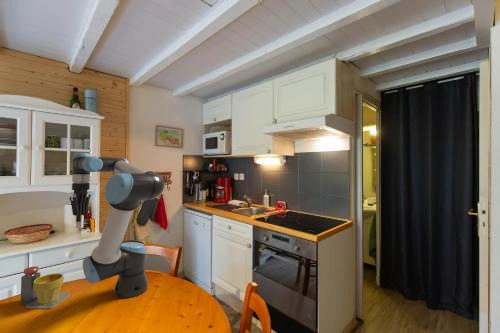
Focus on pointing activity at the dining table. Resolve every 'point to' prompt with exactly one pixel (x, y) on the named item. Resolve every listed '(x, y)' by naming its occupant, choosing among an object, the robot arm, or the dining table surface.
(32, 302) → the press base
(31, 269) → the ram
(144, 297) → the dining table surface
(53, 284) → the plant pot
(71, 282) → the dining table surface
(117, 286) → the robot arm
